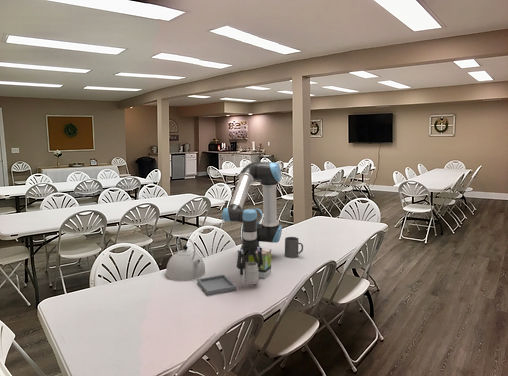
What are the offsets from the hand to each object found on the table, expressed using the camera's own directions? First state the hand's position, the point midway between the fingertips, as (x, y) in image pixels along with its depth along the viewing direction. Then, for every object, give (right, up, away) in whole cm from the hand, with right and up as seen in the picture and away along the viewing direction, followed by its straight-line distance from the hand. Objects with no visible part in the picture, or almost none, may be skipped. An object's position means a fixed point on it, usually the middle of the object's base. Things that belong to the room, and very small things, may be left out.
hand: (249, 278), depth 209 cm
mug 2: (+29, +3, +49) cm, 57 cm away
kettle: (-37, -1, +17) cm, 41 cm away
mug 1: (-1, -1, 0) cm, 1 cm away
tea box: (+4, -2, +17) cm, 18 cm away
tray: (-18, -4, -2) cm, 19 cm away
